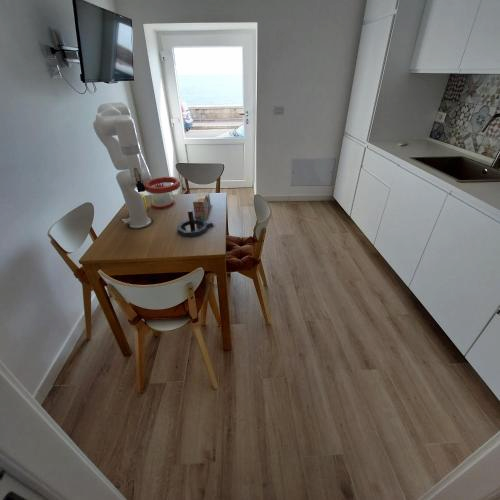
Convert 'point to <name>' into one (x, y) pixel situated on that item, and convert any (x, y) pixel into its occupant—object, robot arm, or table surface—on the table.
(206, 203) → the stack of blocks
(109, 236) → the table surface
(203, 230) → the slate ring
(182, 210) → the table surface
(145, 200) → the tape roll
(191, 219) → the ring peg
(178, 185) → the red ring
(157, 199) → the white rounded dome
